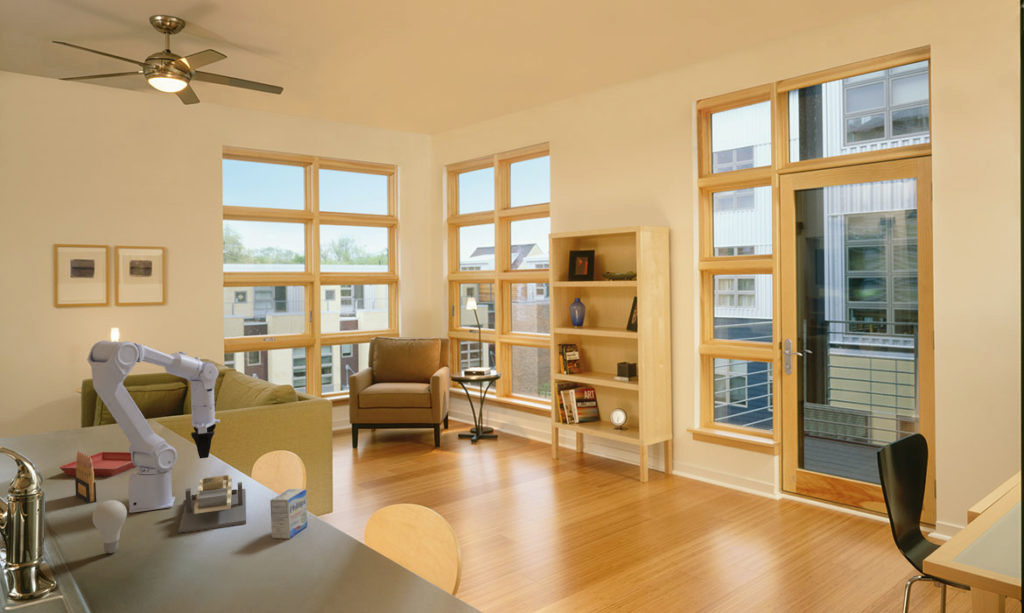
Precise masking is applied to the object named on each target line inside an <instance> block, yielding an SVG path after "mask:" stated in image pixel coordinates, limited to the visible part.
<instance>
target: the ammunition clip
mask: <svg viewBox="0 0 1024 613" xmlns="http://www.w3.org/2000/svg"><path fill="white" fill-rule="evenodd" d="M90 456H91V455H90ZM90 456H89V455H87V453H84V452H83V453H82V452H81V451H80V450H79V451H78V452H77V453H76V461H77V462H76V476H74V479H75V480H74V481H75V485H74V486H75V497H77V498H79V499H80V500H82V501H84V502H85V503H86V504H93V503H96V502H97V485H96V482H95V476H94V471H93V464H92V459H91V457H90Z"/></svg>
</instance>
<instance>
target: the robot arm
mask: <svg viewBox="0 0 1024 613" xmlns="http://www.w3.org/2000/svg"><path fill="white" fill-rule="evenodd" d="M86 360H87V362H88V364H89V365H90V367H91V368H90V369H91V376H92V386H93V389H94V391H95V392H96V394H97V395H98V396H99V398H100V399H101V401H102V403H103V404H104V406H106V409H107V410H108V412H109V413H110V414H111V415H112V418H113V419H114V420H115V421H116V422H115V423H117V424H118V426H119V428H120V429H121V431H123V433H124V435H125V437H126V438H127V439H128V441H129V443H130V444H129V446H128V448H127V449H128V452H130V453H131V460H132V463H133V464H134V465H135V466H136V467H135V468H136V470H137V472H133V473H130V474H129V477H128V507H129V508H128V509H129V511H128V513H138V512H146V511H153V510H160V509H161V510H162V509H169V508H173V506H174V503H175V500H176V496H173V494H172V492H173V491H172V490H173V489H172V488H173V487H172V470H173V467H174V466H175V465H176V462H177V461H178V453H177V452H178V451H177V449H176V448H175V447H174V446H172V445H169V444H168V443H167V441H166V440H165V439H164V438H163V437H161V436H160V435H158V434H156V433H155V432H154V430H153V428H151V426H150V424H149V422H148V421H147V420H146V418H145V416H144V415H143V413H142V412H141V410H140V409H139V407H138V406H137V404H136V402H135V401H134V400H133V398H132V397H131V394H130V393H129V392H128V390H127V389H126V388H125V386H124V381H125V380H126V378H127V376H128V375H129V374H130V372H131V371H132V369H133V368H134V367H135V365H136V364H137V363H142V362H144V363H149V364H152V365H154V366H155V365H157V366H160V367H163V368H164V370H165V372H166V373H167V374H170V375H173V376H175V377H179V378H182V379H185V380H186V381H188V382H189V383H190V398H191V399H190V400H191V401H190V403H191V404H190V405H191V406H190V407H191V423H190V424H191V426H192V427H193V430H194V432H193V431H192V432H191V433H190V434H191V438H192V439H193V441H194V444H195V446H196V448H197V450H196V451H197V454H198V457H199V459H208V458H209V456H210V450H211V445H212V440H213V437H214V435H215V429H216V426H217V424H219V423H221V419H219V418H218V419H216V413H215V412H216V409H215V408H216V407H215V406H216V405H215V386H216V382H217V379H218V377H219V370H218V369H217V367H216V365H215V363H213V362H212V361H202V360H201V358H200V357H199V356H198V357H191V356H189V355H187V353H186V352H184V351H178V352H173V353H171V354H168V353H166V352H162V351H159V350H157V349H154V348H152V347H149V346H146V345H144V344H141V343H135V342H133V341H127V340H126V341H109V340H100V341H98V342H95V343H94V344H93V345H92V347H91V349H90V351H89V354H88V357H87V359H86Z"/></svg>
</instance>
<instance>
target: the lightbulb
mask: <svg viewBox="0 0 1024 613" xmlns="http://www.w3.org/2000/svg"><path fill="white" fill-rule="evenodd" d="M127 515H128V510H127V508H126V506H125V504H124V503H122V502H120V501H119V500H114V499H111V500H106V501H103V502H101V503H100V504H99V505H97V506H96V507H95V509H94V510H93V513H92V515H91V516H92V518H91V519H92V522H93V525H94V526H95V528H96V529H97V530H98V532H99V535H100V537H101V542H102V543H103V544H102V545H103V551H104V552H105V553H108V554H111V555H112V554H115V552H116V551H117V550H118V549H119V540H120V535H121V530H122V527H123V525H124V523H125V521H126V519H127Z"/></svg>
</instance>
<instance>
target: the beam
mask: <svg viewBox="0 0 1024 613" xmlns="http://www.w3.org/2000/svg"><path fill="white" fill-rule="evenodd" d="M222 476H223V486H224V488H220V489H212V490H204V491H203V485H202V484H203V479H206V478H214V477H222ZM203 479H199V484H198V487H197V493H196V494H191V496H192V500H196V501H195V506H194V514H196V513H203V512H210V511H218V510H225V509H231V493H232V495H235V494H237V490H238V488H237V489H233V476H232V475H229V474H225V475H216V476H209V477H203Z"/></svg>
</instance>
